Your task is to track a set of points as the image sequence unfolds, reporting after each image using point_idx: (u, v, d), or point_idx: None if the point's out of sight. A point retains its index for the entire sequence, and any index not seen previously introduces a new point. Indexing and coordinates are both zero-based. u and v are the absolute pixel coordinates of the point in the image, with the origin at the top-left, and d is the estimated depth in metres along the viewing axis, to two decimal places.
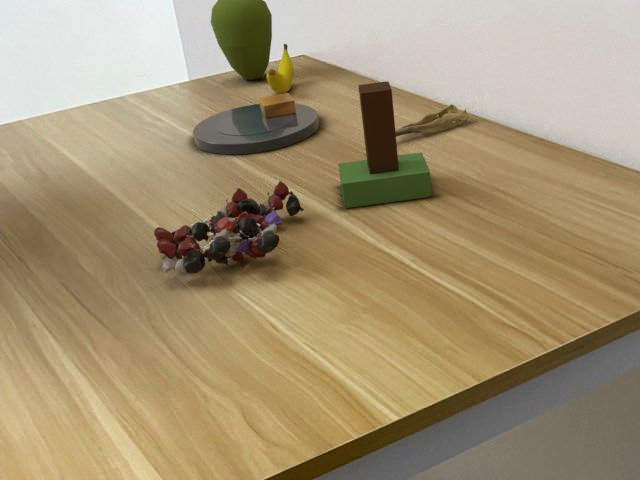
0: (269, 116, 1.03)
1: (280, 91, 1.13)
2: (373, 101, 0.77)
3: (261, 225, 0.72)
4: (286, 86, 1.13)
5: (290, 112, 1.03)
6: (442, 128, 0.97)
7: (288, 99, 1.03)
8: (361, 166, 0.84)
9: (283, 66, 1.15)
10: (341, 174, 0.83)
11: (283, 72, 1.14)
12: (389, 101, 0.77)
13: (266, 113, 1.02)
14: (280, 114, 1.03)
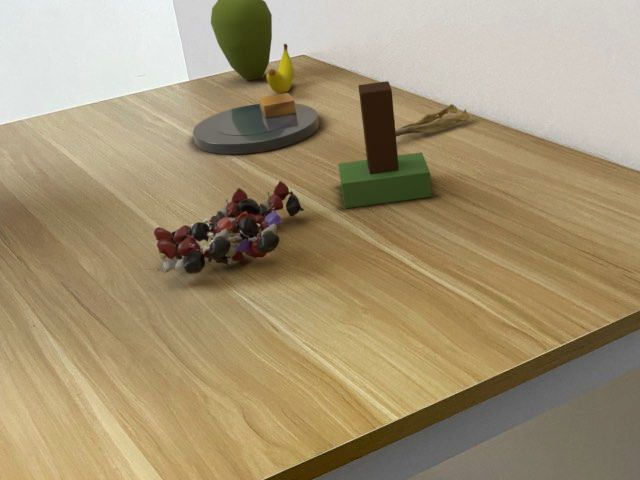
0: (269, 116, 1.03)
1: (280, 91, 1.13)
2: (373, 101, 0.77)
3: (261, 225, 0.72)
4: (286, 86, 1.13)
5: (290, 112, 1.03)
6: (442, 128, 0.97)
7: (288, 99, 1.03)
8: (361, 166, 0.84)
9: (283, 66, 1.15)
10: (341, 174, 0.83)
11: (283, 72, 1.14)
12: (389, 101, 0.77)
13: (266, 113, 1.02)
14: (280, 114, 1.03)
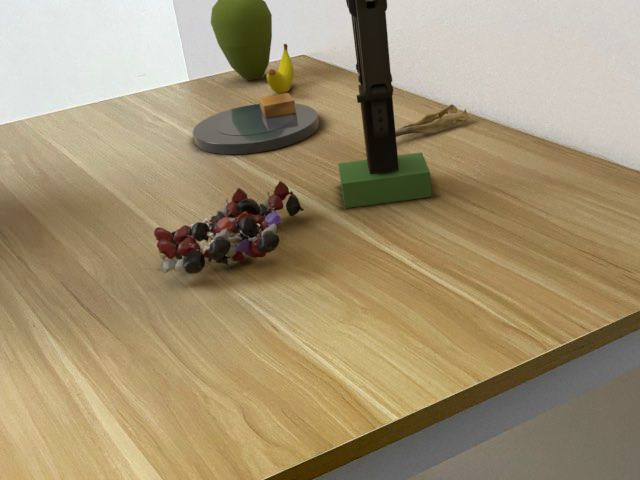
0: (269, 116, 1.03)
1: (280, 91, 1.13)
2: None
3: (261, 225, 0.72)
4: (286, 86, 1.13)
5: (290, 112, 1.03)
6: (442, 128, 0.97)
7: (288, 99, 1.03)
8: (361, 166, 0.84)
9: (283, 66, 1.15)
10: (341, 174, 0.83)
11: (283, 72, 1.14)
12: None
13: (266, 113, 1.02)
14: (280, 114, 1.03)
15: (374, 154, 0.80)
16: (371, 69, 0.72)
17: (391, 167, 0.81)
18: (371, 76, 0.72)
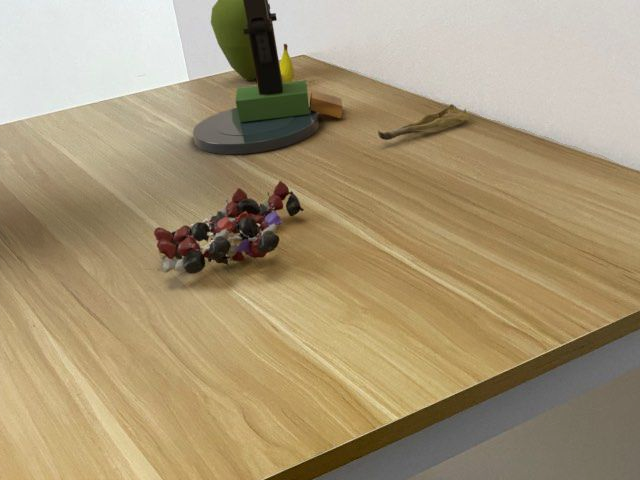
0: (313, 109, 1.03)
1: None
2: None
3: (261, 225, 0.72)
4: None
5: (334, 115, 1.03)
6: (442, 128, 0.97)
7: (337, 103, 1.03)
8: (254, 89, 1.04)
9: (283, 66, 1.15)
10: (237, 95, 1.02)
11: (283, 72, 1.14)
12: None
13: (312, 105, 1.02)
14: (324, 112, 1.03)
15: (262, 78, 1.00)
16: (250, 5, 0.92)
17: (277, 89, 1.01)
18: (251, 11, 0.92)
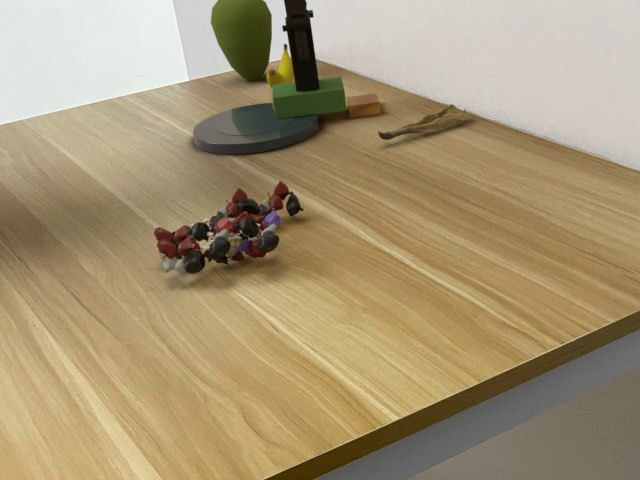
0: (353, 116, 1.04)
1: None
2: None
3: (261, 225, 0.73)
4: None
5: (375, 113, 1.04)
6: (441, 128, 0.97)
7: (374, 100, 1.04)
8: (290, 86, 1.04)
9: (283, 66, 1.15)
10: (273, 91, 1.02)
11: (283, 72, 1.14)
12: None
13: (351, 113, 1.04)
14: (364, 114, 1.04)
15: (299, 75, 1.00)
16: (290, 2, 0.92)
17: (314, 86, 1.01)
18: (291, 8, 0.92)
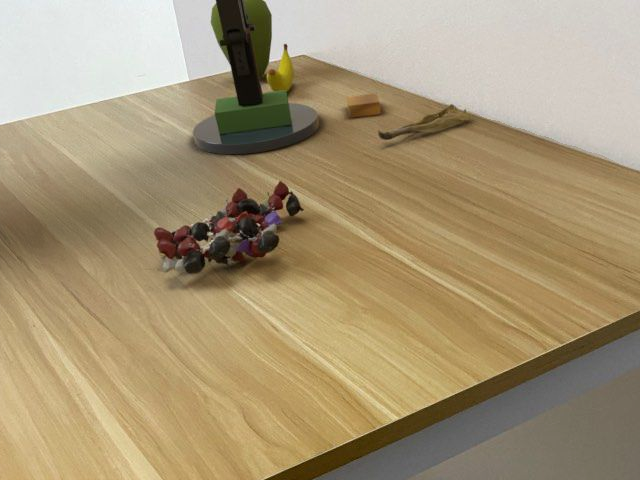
0: (353, 116, 1.04)
1: None
2: None
3: (261, 225, 0.72)
4: (286, 86, 1.13)
5: (375, 113, 1.04)
6: (441, 128, 0.97)
7: (374, 100, 1.04)
8: (234, 100, 1.01)
9: (283, 66, 1.15)
10: (216, 106, 1.00)
11: (283, 72, 1.14)
12: None
13: (351, 113, 1.04)
14: (364, 114, 1.04)
15: (240, 90, 0.97)
16: (225, 16, 0.89)
17: (255, 102, 0.98)
18: (226, 22, 0.90)
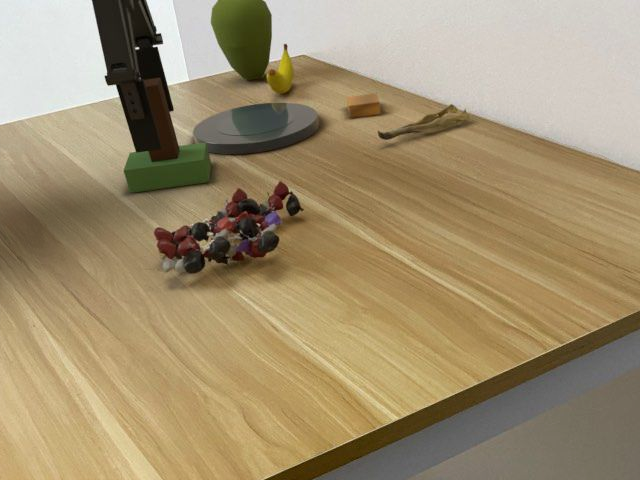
0: (353, 116, 1.04)
1: (280, 91, 1.13)
2: None
3: (261, 225, 0.72)
4: (286, 86, 1.13)
5: (375, 113, 1.04)
6: (441, 128, 0.97)
7: (374, 100, 1.04)
8: (148, 155, 0.93)
9: (283, 66, 1.15)
10: (127, 162, 0.91)
11: (283, 72, 1.14)
12: (157, 95, 0.86)
13: (351, 113, 1.04)
14: (364, 114, 1.04)
15: (136, 135, 0.83)
16: (109, 48, 0.76)
17: (155, 148, 0.85)
18: (110, 55, 0.76)
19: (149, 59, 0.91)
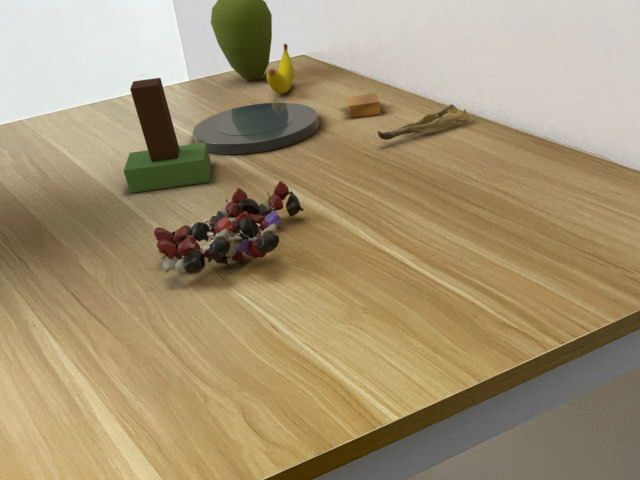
0: (353, 116, 1.04)
1: (280, 91, 1.13)
2: (143, 95, 0.86)
3: (261, 225, 0.72)
4: (286, 86, 1.13)
5: (374, 113, 1.04)
6: (441, 128, 0.97)
7: (374, 100, 1.04)
8: (148, 155, 0.93)
9: (283, 66, 1.15)
10: (127, 162, 0.91)
11: (283, 72, 1.14)
12: (157, 95, 0.86)
13: (351, 113, 1.04)
14: (364, 114, 1.04)
15: None
16: None
17: None
18: None
19: None
